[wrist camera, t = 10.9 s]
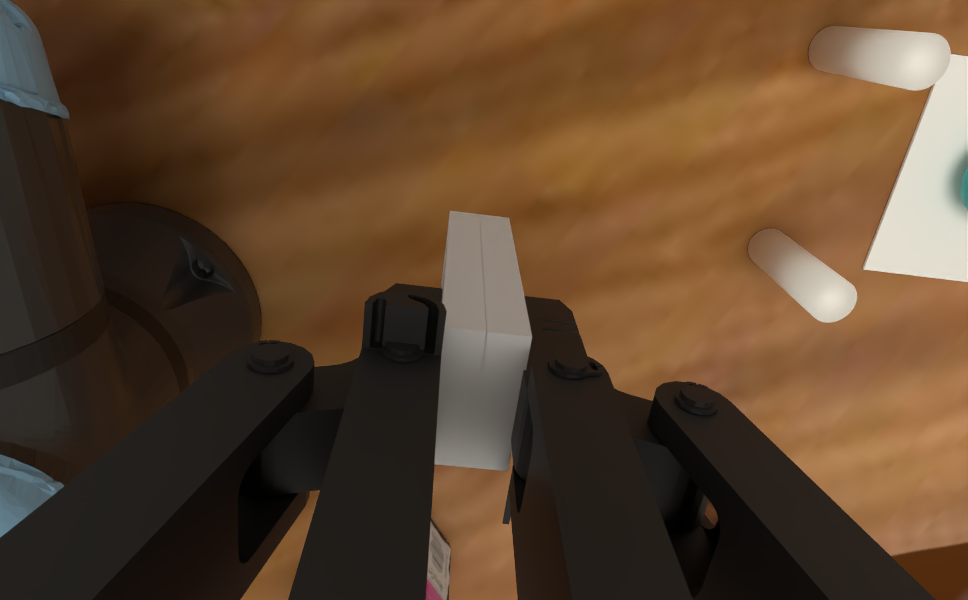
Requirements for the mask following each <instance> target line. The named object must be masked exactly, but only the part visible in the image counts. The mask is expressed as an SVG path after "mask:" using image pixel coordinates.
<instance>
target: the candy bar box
mask: <svg viewBox="0 0 968 600" xmlns="http://www.w3.org/2000/svg"><path fill="white" fill-rule="evenodd" d="M450 559H451V548H450V546H449V544H448V543H447V542H446V540H445V539H444V537H443V536H442V535H441V534H440V532H439V531H438V529H437V528H436V526H435V525H434V523H433V522H432V520H431V524H430V540H429V556H428V571H427V587H426V600H449V581H450Z"/></svg>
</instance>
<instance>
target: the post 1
mask: <svg viewBox="0 0 968 600" xmlns="http://www.w3.org/2000/svg"><path fill="white" fill-rule="evenodd" d="M748 255H749V257H750V259H751V260H752V261H753V262H754V263H755V264H757V265H758V266H759V267H760V268H761V269H762V270H763V271H764V272H765V273H766V274H767V275H769V276H770V277H771V278H772V279H773V280H774V281H775V282H776V283H777V284H778V285H779V286H781V287H782V288H783V289H784V290H785V291H786V292H787V293H788V294H789V295H790V296H791V297H793V298H794V299H795V300H796V301H797V302H798V303H799V304H800V305H801V306H802V307H803V308H805V309H806V310H807V311H808V312H809V313H810V314H811V315H812V316H813V317H814V318H815V319H817V320H819V321H821V322H828V323H829V322H835V321H838V320H841V319H842V318H844V317H846V316H847V315H848V314H849V313H850V312H851V311H852V310H853V308H854V306H855V304H856V301H857V292H856V289H855V287H854V286H853V285H852V284H851V283H850V282H848V281H847V280H845V279H844V278H843V277H841V276H840V275H839V274H837V273H836V272H835V271H833V270H832V269H831V268H829V267H828V266H827V265H825V264H824V263H823V262H821V261H820V260H819V259H817V258H816V257H814V256H813V255H812V254H810V253H809V252H808V251H806V250H805V249H804V248H802V247H801V246H800V245H798V244H797V243H796V242H794V241H793V240H792V239H790V238H789V237H788V236H786V235H785V234H783V233H782V232H781V231H779V230H777V229H774V228H767V229H763V230H761V231H759V232H757V233H756V234H755V235H754V236H753V237H752V238H751V240H750V242H749V244H748Z"/></svg>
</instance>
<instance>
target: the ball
mask: <svg viewBox="0 0 968 600" xmlns="http://www.w3.org/2000/svg"><path fill="white" fill-rule="evenodd" d="M961 195H962V199H963V202H964V204H965V207H966V208H967V210H968V168H967V169H966V171H965V173H964V176H963V179H962V183H961Z"/></svg>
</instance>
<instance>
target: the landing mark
mask: <svg viewBox="0 0 968 600" xmlns="http://www.w3.org/2000/svg"><path fill="white" fill-rule="evenodd" d="M967 168H968V56H961V55H954V54H951V56H950V62H949V65H948V68H947V70H946V72H945V73H944V75H943V76H942V77H941V78H940V79H939V80H938V81H937V82H936V83H935V84H933V85H932V88H931V90H930V93H929V95H928V98H927V101H926V103H925V106H924V108H923V111H922V114H921V116H920V119H919V121H918V124H917V127H916V129H915V132H914V134H913V137H912V140H911V142H910V145H909V147H908V150H907V153H906V155H905V158H904V160H903V163H902V166H901V168H900V171H899V173H898V176H897V179H896V181H895V184H894V186H893V189H892V192H891V194H890V197H889V199H888V202H887V205H886V207H885V210H884V212H883V215H882V218H881V220H880V223H879V225H878V228H877V231H876V233H875V236H874V238H873V241H872V244H871V246H870V249H869V251H868V254H867V257H866V259H865V262H864V264H863V267H862V269H865V270H873V271H881V272H890V273H898V274H906V275H914V276H923V277H931V278H939V279H947V280H956V281H964V282H968V210H967V208H966V207H965V204H964V202H963V199H962V195H961V183H962V179H963V176H964V173H965V171H966V169H967Z"/></svg>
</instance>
